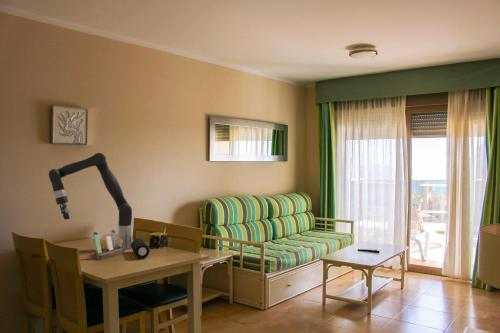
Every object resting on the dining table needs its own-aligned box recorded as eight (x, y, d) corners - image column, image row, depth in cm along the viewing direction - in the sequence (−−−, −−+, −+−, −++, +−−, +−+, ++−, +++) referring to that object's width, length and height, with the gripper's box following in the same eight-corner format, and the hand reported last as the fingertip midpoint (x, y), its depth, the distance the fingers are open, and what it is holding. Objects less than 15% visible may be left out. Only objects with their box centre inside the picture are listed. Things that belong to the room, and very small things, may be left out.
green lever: (95, 254, 281) (91, 232, 283) (99, 253, 284) (95, 231, 286) (98, 253, 280) (94, 231, 282) (102, 252, 283) (98, 231, 285)
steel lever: (113, 249, 297) (110, 230, 298) (116, 248, 300) (113, 230, 301) (116, 248, 296) (112, 230, 297) (119, 248, 299) (115, 229, 300)
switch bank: (90, 258, 281) (90, 251, 281) (114, 251, 302) (114, 245, 302) (101, 259, 278) (101, 252, 278) (124, 253, 299) (124, 246, 299)
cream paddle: (107, 250, 291) (105, 236, 292) (111, 249, 295) (109, 235, 295) (109, 250, 290) (106, 236, 291) (113, 249, 294) (110, 235, 295)
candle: (167, 246, 327) (167, 233, 327) (159, 248, 318) (159, 235, 318) (156, 244, 331) (157, 232, 331) (148, 247, 322) (148, 234, 322)
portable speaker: (130, 252, 304) (130, 238, 304) (144, 251, 308) (144, 237, 308) (135, 259, 281) (135, 244, 280) (150, 258, 284) (150, 244, 284)
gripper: (64, 194, 290) (71, 217, 290) (68, 195, 304) (74, 217, 303) (53, 198, 288) (59, 220, 288) (57, 198, 302) (63, 220, 301)
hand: (67, 219), depth 295 cm, fingers open, 8 cm apart
